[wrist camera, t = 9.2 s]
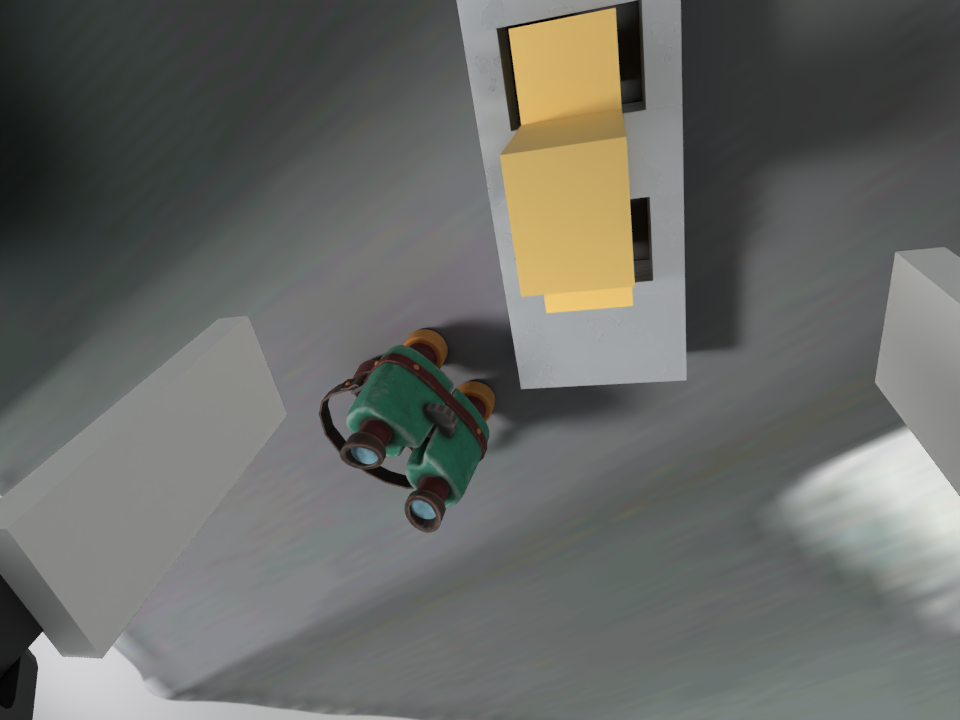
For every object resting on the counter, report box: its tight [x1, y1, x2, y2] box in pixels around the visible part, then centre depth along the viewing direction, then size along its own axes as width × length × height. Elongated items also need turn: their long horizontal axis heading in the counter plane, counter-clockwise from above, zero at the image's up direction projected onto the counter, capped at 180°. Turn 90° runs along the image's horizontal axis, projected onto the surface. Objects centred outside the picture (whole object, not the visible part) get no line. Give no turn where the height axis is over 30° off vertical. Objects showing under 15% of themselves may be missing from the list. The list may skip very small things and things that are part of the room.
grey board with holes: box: [457, 0, 687, 389], centre depth 29 cm, size 9×24×3 cm, turn 10°
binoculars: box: [319, 329, 495, 532], centre depth 36 cm, size 9×11×10 cm
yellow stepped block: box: [500, 8, 635, 313], centre depth 25 cm, size 12×4×12 cm, turn 10°
